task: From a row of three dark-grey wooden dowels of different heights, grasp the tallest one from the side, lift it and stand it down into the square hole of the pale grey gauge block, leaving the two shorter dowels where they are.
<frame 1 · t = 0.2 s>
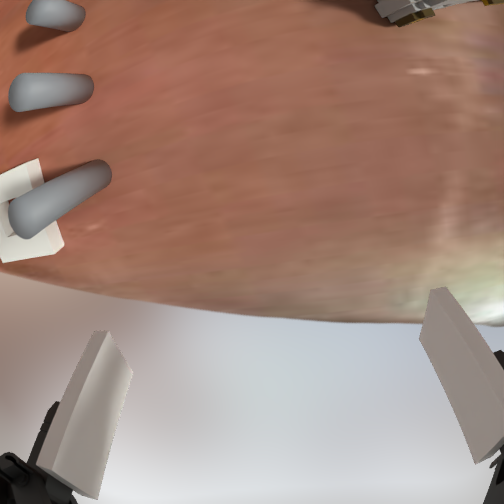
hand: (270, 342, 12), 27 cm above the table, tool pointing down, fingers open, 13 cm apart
short dowel: (73, 18, 26), on the table
tall dowel: (98, 174, 36), on the table
gauge block: (22, 211, 39), on the table
medium dowel: (81, 88, 31), on the table
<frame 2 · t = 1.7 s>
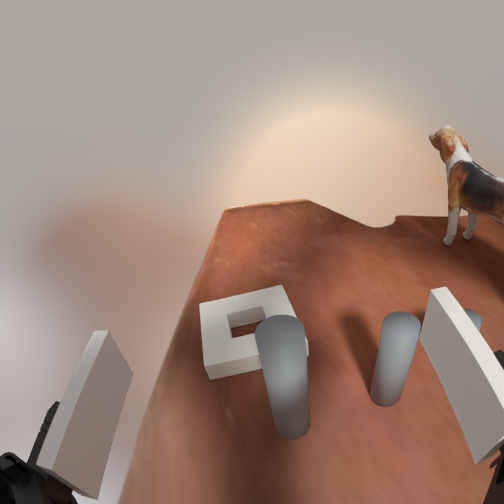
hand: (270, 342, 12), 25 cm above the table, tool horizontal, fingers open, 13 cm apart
dog model: (480, 260, 51), on the table
short dowel: (451, 362, 34), on the table
tall dowel: (292, 424, 32), on the table
gauge block: (250, 335, 47), on the table
medium dowel: (385, 393, 33), on the table
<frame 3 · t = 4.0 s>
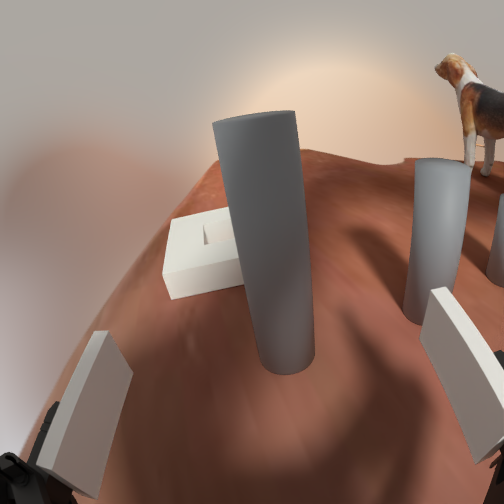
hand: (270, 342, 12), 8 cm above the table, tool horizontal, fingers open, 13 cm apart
short dowel: (502, 276, 23), on the table
tall dowel: (287, 353, 22), on the table
gauge block: (232, 251, 36), on the table
medium dowel: (424, 309, 23), on the table
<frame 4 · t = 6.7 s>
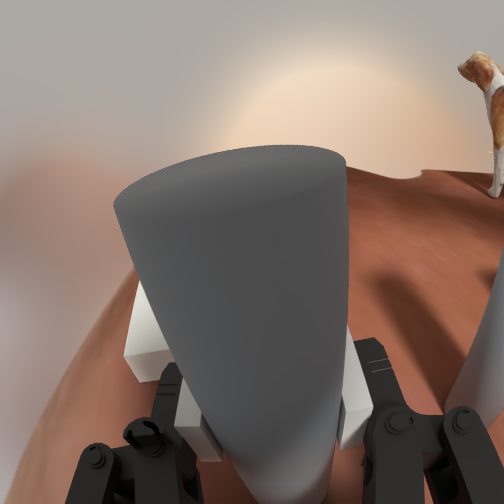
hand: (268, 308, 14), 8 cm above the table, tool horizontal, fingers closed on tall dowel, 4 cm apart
tall dowel: (290, 486, 13), on the table, touching gripper
gauge block: (220, 309, 28), on the table
medium dowel: (471, 408, 14), on the table
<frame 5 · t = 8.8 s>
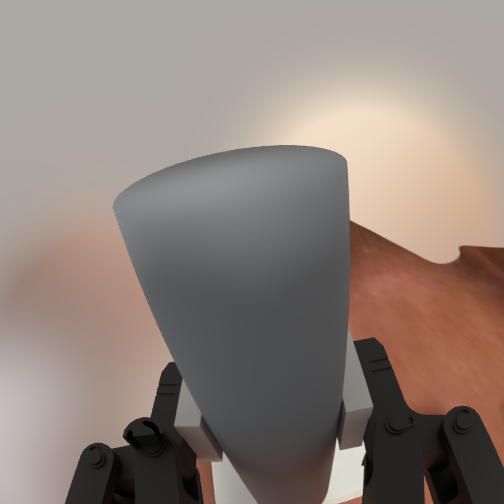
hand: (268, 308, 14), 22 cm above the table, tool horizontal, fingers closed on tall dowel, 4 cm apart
tall dowel: (290, 487, 13), point 13 cm above the table, touching gripper
gauge block: (286, 454, 26), on the table
when the fingers open (10 cm above the table, at t = 11.2 s): tall dowel stays where it is, resting in gauge block.
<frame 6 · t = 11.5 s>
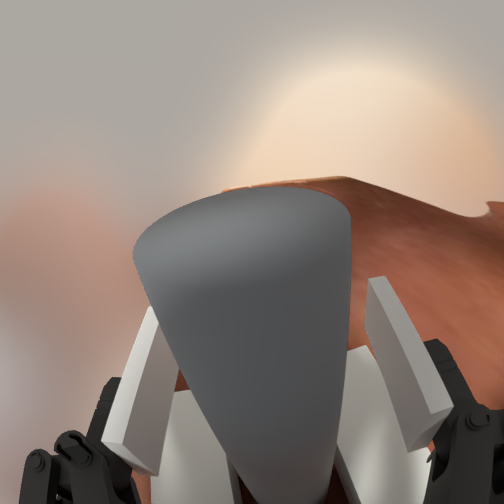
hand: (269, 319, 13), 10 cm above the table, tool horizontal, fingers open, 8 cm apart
tall dowel: (291, 491, 13), resting in gauge block
gauge block: (291, 490, 13), on the table
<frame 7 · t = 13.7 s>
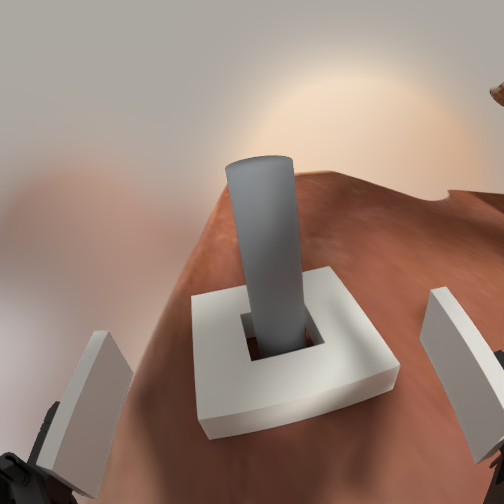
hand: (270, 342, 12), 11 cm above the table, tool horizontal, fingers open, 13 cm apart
tall dowel: (282, 353, 26), resting in gauge block
gauge block: (282, 353, 26), on the table
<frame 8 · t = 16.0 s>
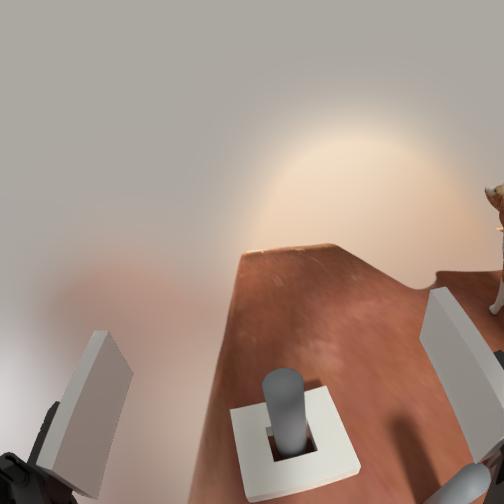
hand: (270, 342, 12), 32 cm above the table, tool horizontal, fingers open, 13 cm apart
short dowel: (496, 467, 23), on the table
tall dowel: (292, 448, 36), resting in gauge block
gauge block: (292, 447, 36), on the table
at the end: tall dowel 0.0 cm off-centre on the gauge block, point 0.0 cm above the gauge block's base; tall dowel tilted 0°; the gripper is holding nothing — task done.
